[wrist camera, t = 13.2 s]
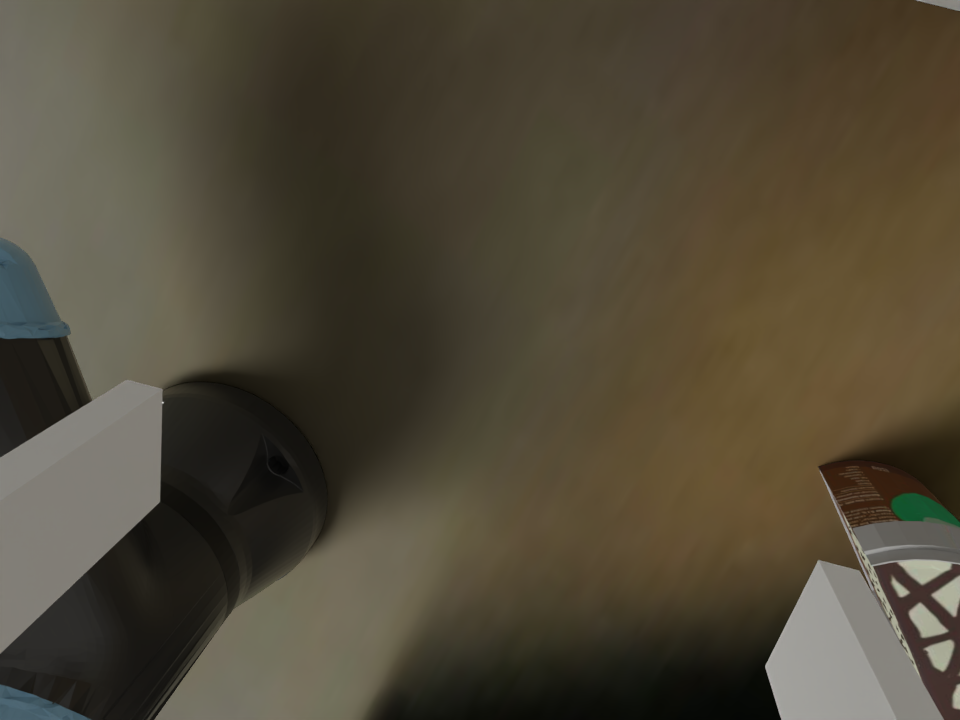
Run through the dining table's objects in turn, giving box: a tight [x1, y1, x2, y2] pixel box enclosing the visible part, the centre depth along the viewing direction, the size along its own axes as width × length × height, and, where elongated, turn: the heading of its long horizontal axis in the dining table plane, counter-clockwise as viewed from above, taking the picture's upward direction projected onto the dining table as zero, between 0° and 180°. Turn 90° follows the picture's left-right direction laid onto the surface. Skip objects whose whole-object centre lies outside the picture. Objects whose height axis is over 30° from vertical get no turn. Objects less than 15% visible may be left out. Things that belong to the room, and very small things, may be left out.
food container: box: [818, 460, 960, 720], centre depth 35 cm, size 12×6×10 cm, turn 29°
